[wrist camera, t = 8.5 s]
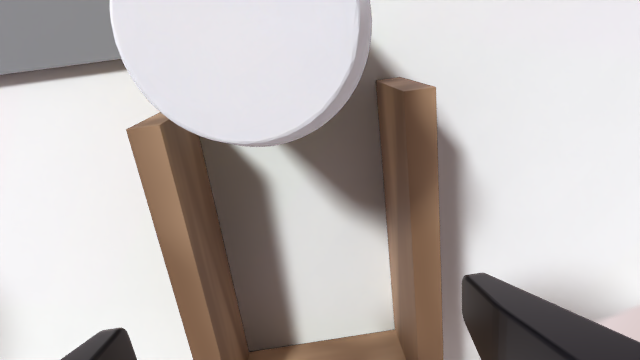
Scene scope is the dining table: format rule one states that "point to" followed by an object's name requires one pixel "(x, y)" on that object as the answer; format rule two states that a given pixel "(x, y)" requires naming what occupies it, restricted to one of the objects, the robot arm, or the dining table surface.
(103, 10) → the coaster
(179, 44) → the pill bottle
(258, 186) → the dining table surface
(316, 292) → the dining table surface
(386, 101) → the shelf bay
